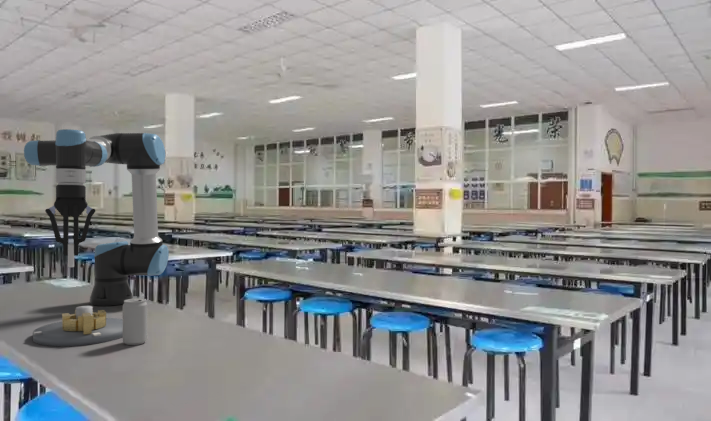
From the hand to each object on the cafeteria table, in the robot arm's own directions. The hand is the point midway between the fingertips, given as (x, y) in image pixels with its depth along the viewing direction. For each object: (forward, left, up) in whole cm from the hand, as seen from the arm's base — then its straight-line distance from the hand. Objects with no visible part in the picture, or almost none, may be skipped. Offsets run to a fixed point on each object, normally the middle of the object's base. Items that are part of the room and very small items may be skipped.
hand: (71, 266), depth 154 cm
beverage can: (-12, +17, -21) cm, 29 cm away
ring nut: (-4, 0, -18) cm, 18 cm away
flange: (-4, -2, -20) cm, 21 cm away
